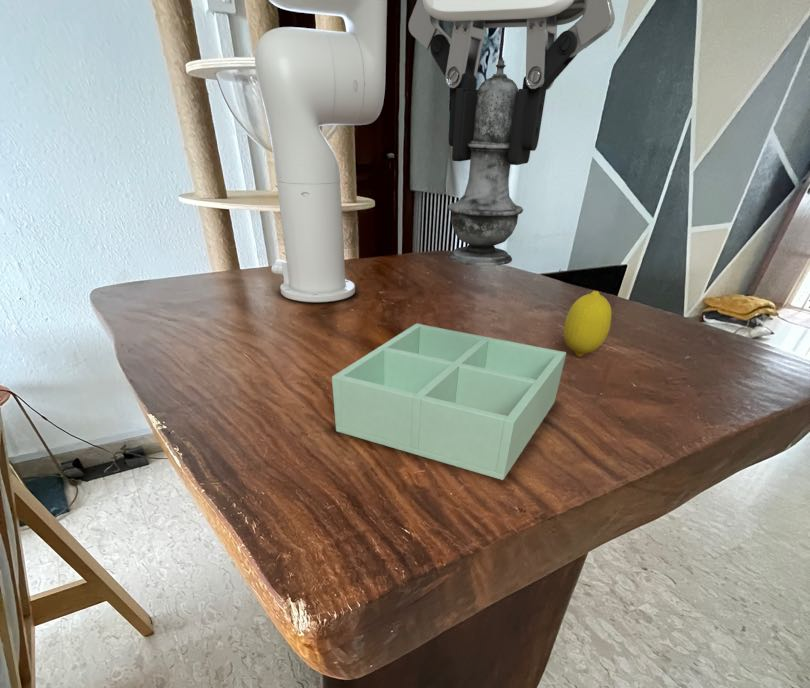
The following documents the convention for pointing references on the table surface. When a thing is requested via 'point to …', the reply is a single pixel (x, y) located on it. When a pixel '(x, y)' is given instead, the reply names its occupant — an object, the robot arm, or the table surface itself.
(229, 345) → the table surface
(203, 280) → the table surface
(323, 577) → the table surface
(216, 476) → the table surface
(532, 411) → the box
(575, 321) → the lemon
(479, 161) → the salt shaker
